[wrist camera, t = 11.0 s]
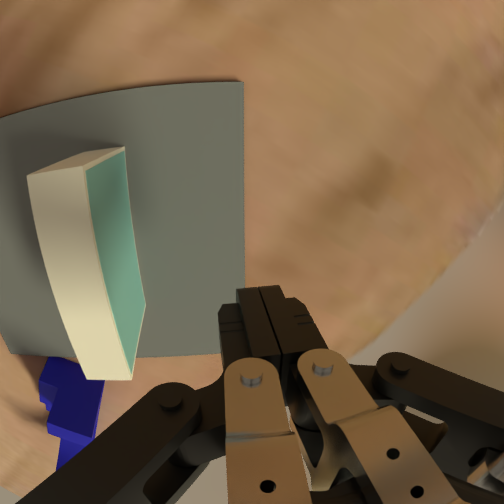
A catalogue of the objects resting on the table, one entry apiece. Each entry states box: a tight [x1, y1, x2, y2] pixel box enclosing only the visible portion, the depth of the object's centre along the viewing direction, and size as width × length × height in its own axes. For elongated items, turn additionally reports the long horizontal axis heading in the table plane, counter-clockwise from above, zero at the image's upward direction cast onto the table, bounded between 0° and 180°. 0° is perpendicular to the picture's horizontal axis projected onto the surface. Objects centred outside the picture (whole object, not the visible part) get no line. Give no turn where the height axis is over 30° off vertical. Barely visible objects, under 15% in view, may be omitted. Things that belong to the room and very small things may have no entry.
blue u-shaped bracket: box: [39, 356, 105, 471], centre depth 19 cm, size 12×4×6 cm, turn 155°
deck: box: [27, 146, 146, 380], centre depth 13 cm, size 9×2×6 cm, turn 0°
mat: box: [0, 82, 245, 358], centre depth 16 cm, size 16×18×1 cm
